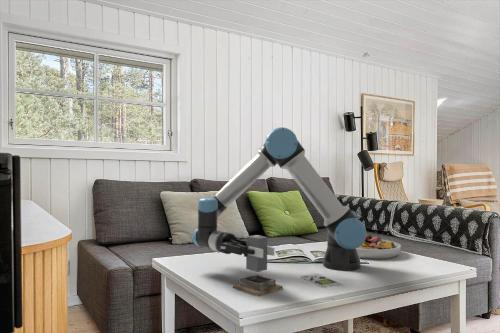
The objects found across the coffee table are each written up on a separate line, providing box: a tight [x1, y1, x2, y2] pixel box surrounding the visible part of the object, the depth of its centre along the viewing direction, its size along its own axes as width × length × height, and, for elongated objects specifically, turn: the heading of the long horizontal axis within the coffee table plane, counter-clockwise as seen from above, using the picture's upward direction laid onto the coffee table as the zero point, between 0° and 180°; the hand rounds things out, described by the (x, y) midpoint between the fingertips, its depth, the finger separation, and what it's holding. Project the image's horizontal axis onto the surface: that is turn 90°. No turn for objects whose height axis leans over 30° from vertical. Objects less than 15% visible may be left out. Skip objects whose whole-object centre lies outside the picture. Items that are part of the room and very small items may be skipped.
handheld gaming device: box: [299, 273, 342, 288], centre depth 146 cm, size 9×1×15 cm
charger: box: [245, 234, 268, 273], centre depth 136 cm, size 4×6×11 cm
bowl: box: [356, 232, 402, 260], centre depth 193 cm, size 30×30×8 cm
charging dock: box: [232, 274, 283, 297], centre depth 136 cm, size 12×12×3 cm
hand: (268, 252), depth 132 cm, fingers closed on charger, 4 cm apart
